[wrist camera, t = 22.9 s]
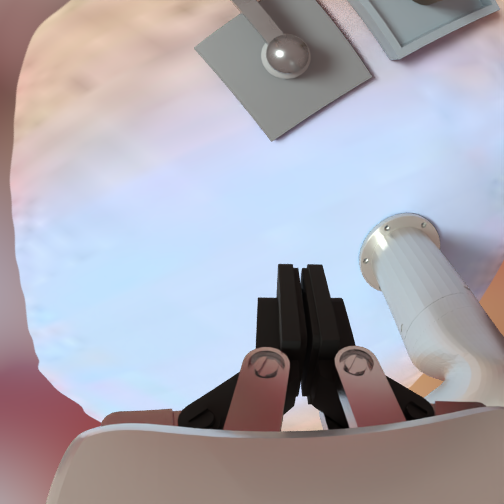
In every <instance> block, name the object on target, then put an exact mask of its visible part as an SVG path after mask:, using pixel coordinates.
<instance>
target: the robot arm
mask: <svg viewBox="0 0 504 504" xmlns="http://www.w3.org/2000/svg"><path fill="white" fill-rule="evenodd" d="M386 225H387V226H386ZM359 265H360V270H361V272H362V275H363V277H364V279H365V280H366V282H367V283H368V284H369V285H370V286H371V287H373V288H374V289H376V290H379V291H382V293H383V295H384V297H385V299H386V302H387V304H388V306H389V309H390V311H391V313H392V316H393V318H394V320H395V323H396V325H397V327H398V330H399V332H400V335H401V337H402V340H403V342H404V345H405V347H406V350H407V352H408V355H409V357H410V359H411V361H412V363H413V364H414V365H415V366H416V368H418V369H419V370H420V371H421V372H423V373H424V374H426V375H428V376H430V377H433V378H436V379H439V380H442V381H444V382H443V383H442V384H441V385H440V386H439V387H438V388H436V389H435V390H434V391H432V392H431V393H430V394H429V395H427V396H426V397H424V398H423V397H421V396H420V395H418V394H416V393H414V392H413V391H411V390H409V389H408V388H406V387H404V386H402V385H401V384H399V383H397V382H396V381H394V380H392V379H391V378H389V377H387V376H386V375H385V374H384V372H383V370H382V368H381V366H380V364H379V362H378V360H377V358H376V356H375V355H374V354H373V353H372V352H371V351H370V350H368V349H366V348H364V347H360V346H355V342H354V338H353V334H352V330H351V327H350V323H349V319H348V316H347V312H346V309H345V305H344V302H343V299H342V298H331V297H330V293H329V289H328V285H327V281H326V277H325V273H324V270H323V266H322V265H314V264H308V265H307V268H302V272H301V283H300V278H299V271H298V268H293V264H278V278H277V298H258V308H257V332H256V349H254V350H252V351H250V352H249V353H248V354H247V355H246V356H245V358H244V360H243V363H242V366H241V370H240V372H239V373H237V374H236V375H234V376H233V377H231V378H230V379H228V380H227V381H225V382H224V383H222V384H221V385H219V386H218V387H216V388H215V389H213V390H212V391H210V392H208V393H207V394H205V395H204V396H202V397H201V398H199V399H197V400H196V401H194V402H193V403H191V404H189V405H188V406H187V407H185V408H184V409H183V410H182V411H173V410H172V409H161V410H145V411H119V412H114V413H111V414H109V415H107V416H106V417H105V418H104V420H103V421H102V424H101V427H97V428H93V429H91V430H87V431H86V432H83V433H81V434H80V435H78V436H77V437H76V438H75V439H74V440H73V441H72V443H71V444H70V445H69V447H68V449H67V450H66V452H65V454H64V456H63V458H62V460H61V462H60V464H59V467H58V469H57V472H56V474H55V477H54V479H53V482H52V485H51V489H50V492H49V495H48V498H47V502H46V504H504V337H503V335H502V334H501V333H500V332H499V330H498V329H497V328H496V326H495V324H494V323H493V322H492V320H491V319H490V318H489V316H488V315H487V313H486V312H485V311H484V309H483V308H482V306H481V305H480V303H479V302H478V300H477V299H476V298H475V296H474V295H473V293H472V292H471V291H470V289H469V288H468V286H467V285H466V284H465V282H464V281H463V280H462V278H461V277H460V276H459V274H458V273H457V272H456V270H455V269H454V268H453V267H452V265H451V264H450V263H449V261H448V260H447V259H446V258H445V256H444V255H443V254H442V253H441V251H440V238H439V235H438V233H437V231H436V229H435V227H434V226H433V225H432V224H431V223H430V222H429V221H428V220H427V219H426V218H424V217H422V216H420V215H417V214H413V213H403V214H397V215H394V216H391V217H388V218H387V219H385V220H383V221H381V222H380V223H379V224H378V225H376V226H375V227H374V228H373V229H372V230H371V231H370V233H369V234H368V235H367V237H366V238H365V240H364V242H363V244H362V247H361V250H360V254H359ZM300 383H301V389H302V396H307V399H308V404H312V405H313V406H314V407H315V408H317V409H318V410H319V411H320V412H319V413H320V419H321V423H322V426H323V430H318V431H287V432H281V427H282V421H283V415H284V414H285V413H286V412H288V411H289V410H290V409H291V408H292V407H293V406H294V404H295V398H296V396H298V394H299V389H300Z"/></svg>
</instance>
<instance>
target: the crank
mask: <svg viewBox="0 0 504 504" xmlns="http://www.w3.org/2000/svg"><path fill="white" fill-rule="evenodd" d="M230 1H231V2H232V3H233V4H234V5H235V6H236V8H237V9H238V10H239V11H240V12H241V13H242V14H243V16H244V17H245V18H246V19H247V20H248V22H249V23H250V24H251V25H252V26H253V28H254V29H255V30H256V31H257V32H258V34H259V35H260V36H261V37H262V39H263V40H264V41H265V42H266V44H267V45H268V47H267V50H266V58H267V62H268V64H269V65H270V66H271V68H273V69H274V70H275V71H277V72H279V73H283V74H291V73H295V72H298V71H300V70H301V69H303V68H304V67H305V65H306V64H307V62H308V59H309V50H308V47H307V45H306V44H305V43H304V41H302V40H301V39H300V38H298V37H296V36H294V35H284V34H283V32H282V31H281V30H280V29H279V27H278V26H277V25H276V24H275V22H274V21H273V20H272V19H271V17H270V16H269V15H268V14H267V13H266V11H265V10H264V9H263V8H262V7H261V5H260V4H259V3H258V2H257V1H256V0H230Z"/></svg>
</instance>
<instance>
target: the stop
mask: <svg viewBox="0 0 504 504" xmlns="http://www.w3.org/2000/svg"><path fill="white" fill-rule="evenodd" d="M412 1H414V2H416V3H418V4H421V5H430V4H433V3H436V2H439V1H442V0H412Z"/></svg>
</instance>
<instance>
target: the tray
mask: <svg viewBox="0 0 504 504" xmlns="http://www.w3.org/2000/svg"><path fill="white" fill-rule="evenodd" d="M347 1H348V2H349V3H350V4H351V6H352V7H353V8H354V9H355V11H356V12H357V13H358V15H359V16H360V17H361V19H362V20H363V21H364V23H365V24H366V25H367V27H368V28H369V29H370V31H371V32H372V34H373V35H374V37H375V38H376V39H377V41H378V42H379V44H380V45H381V47H382V48H383V50H384V51H385V53H386V54H387V56H388V57H389V59H390V60H397V59H401V58H403V57H405V56H407V55H409V54H410V53H412V52H414V51H416V50H418V49H420V48H421V47H423V46H425V45H427V44H429V43H431V42H433V41H435V40H437V39H439V38H441V37H443V36H445V35H447V34H449V33H451V32H453V31H455V30H457V29H459V28H461V27H463V26H465V25H467V24H469V23H471V22H473V21H476V20H478V19H480V18H482V17H484V16H487V15H489V14H491V13H493V12H496V11H498V10H500V8H499V6H498V4H497V3H496V1H495V0H442V1H439V2H436V3H433V4H430V5H421V4H418V3H416V2H414V1H412V0H347Z"/></svg>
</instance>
